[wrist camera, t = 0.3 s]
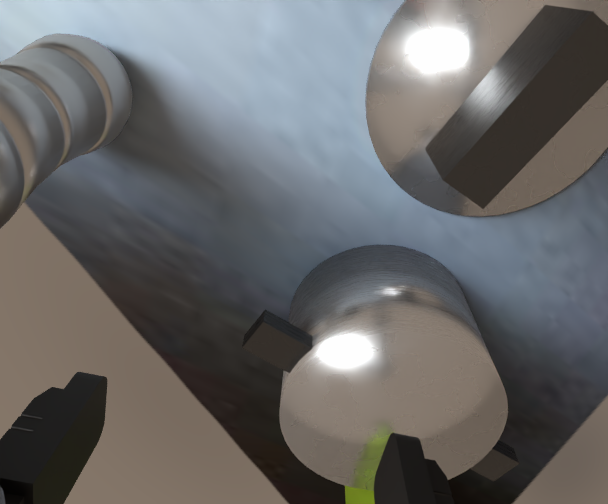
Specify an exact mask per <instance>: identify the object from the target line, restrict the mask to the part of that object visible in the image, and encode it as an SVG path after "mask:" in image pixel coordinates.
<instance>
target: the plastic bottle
mask: <svg viewBox="0 0 608 504" xmlns="http://www.w3.org/2000/svg"><path fill="white" fill-rule="evenodd" d="M132 100H133V96H132V87H131V84H130V80H129V77H128V75H127V73H126V71H125V69H124V67H123V65H122V64H121V63H120V61H119V60H118V58H117V57H116V56H115V55H114V54H113V53H112V52H111V51H110V50H109V49H108V48H106V47H105V46H103V45H102V44H100V43H99V42H97V41H95V40H93V39H90V38H87V37H83V36H79V35H72V34H52V35H47V36H44V37H42V38H40V39H38V40H36V41H34V42H32V43H31V44H29V45H27V46H25V47H24V48H23V49H22V50H21V51H19V52H18V53H17V54H16V55H14V56H12V57H10V58H8V59H6V60H4V61H2V62H0V228H2V227H3V226H4V225H5V224H6V223H7V222H8V221H9V220H10V218H11V217H12V216H13V215H14V214H15V212H16V211H17V210H18V209H19V207H20V206H21V205H22V204H23V202H24V201H25V200H26V199H27V198H28V196H29V195H30V194H31V193H32V192H33V190H34V189H35V188H36V187H37V186H38V185H39V184H40V183H41V182H42V181H44V180H45V179H46V178H47V177H48V176H49V175H50V174H51V173H52V172H53V171H55V170H56V169H57V168H58V167H59V166H61V165H63V164H64V163H66V162H68V161H70V160H72V159H74V158H76V157H78V156H80V155H84V154H88V153H90V152H92V151H95V150H97V149H100V148H102V147H104V146H106V145H108V144H109V143H111V142H112V141H113V140H114V139H115V138H116V137H117V136H118V135H119V134H120V132H121V131H122V129H123V127H124V125H125V124H126V122H127V120H128V118H129V116H130V113H131V109H132Z"/></svg>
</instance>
